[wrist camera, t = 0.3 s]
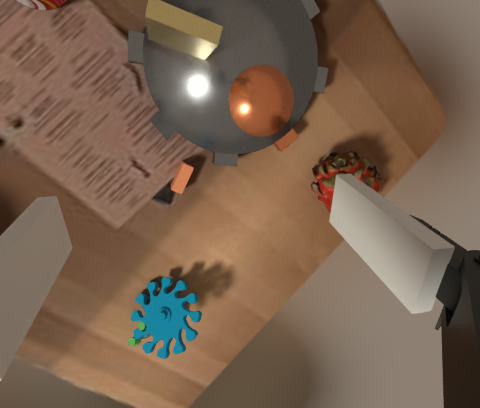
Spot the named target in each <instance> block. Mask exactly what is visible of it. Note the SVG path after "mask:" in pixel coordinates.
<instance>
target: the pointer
mask: <svg viewBox="0 0 480 408" xmlns="http://www.w3.org/2000/svg"><path fill="white" fill-rule="evenodd" d="M193 169H194V167H193V165H191V164H188V163H186V162H184V161H182V162H181V165H180V167H179V169H178V171H177V173H176V176H175V178H174V180H173V182H172V184H171V190H173V191H175V192H178V193H180V194H182V193H183V191H184V189H185V187H186V184H187V182H188V180H189V178H190V176H191V174H192V171H193Z"/></svg>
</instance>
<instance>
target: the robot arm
mask: <svg viewBox="0 0 480 408" xmlns="http://www.w3.org/2000/svg"><path fill="white" fill-rule="evenodd" d="M329 222H330V223H331V224H332V225H333V227H334V228H335V229H336V230H337V231H338V232H339V233H340V234H341V235H342V237H343V238H344V239H345V240H346V241H347V242H348V243H349V244H350V245H351V247H352V248H353V249H354V250H355V251H356V252H357V253H358V254H359V255H360V257H361V258H362V259H363V260H364V261H365V262H366V263H367V264H368V265H369V267H370V268H371V269H372V270H373V271H374V272H375V273H376V274H377V275H378V277H379V278H380V279H381V280H382V281H383V282H384V283H385V284H386V285H387V287H388V288H389V289H390V290H391V291H392V292H393V293H394V294H395V296H396V297H397V298H398V299H399V300H400V301H401V302H402V303H403V304H404V306H405V307H406V308H407V309H408V310H409V311H410V312H411V313H412V314H415V313H421V312H427V311H431V310H432V307H433V305H434V302H435V299H436V298H437V299H439V300H440V301H441V302H442V303H443V304H444V307H443V310H442V312H441V315H440V317H439V320H438V322H437V325H436V327H435V329H436V330H439V328H440V326H441V327H442V361H443V397H444V408H480V251H479V250H470V251H467V250H466V249H464V248H463V247H461V246H460V245H458V244H457V243H455V242H454V241H452V240H451V239H450V238H448V237H447V236H445V235H443V234H441V233H440V232H439V231H438V230H436V229H435V228H432V226H430V225H429V224H428V223H426V222H425V221H423V220H421V219H419V218H416V217H414V216H412V215H409V214H407V213H406V212H404V211H403V210H401V209H400V208H398V207H397V206H396V205H394V204H393V203H391V202H390V201H389V200H387V199H386V198H384V197H383V196H381V195H380V194H379V193H377V192H376V191H374V190H373V189H371V188H370V187H369V186H367V185H366V184H364V183H363V182H361V181H360V180H359V179H357V178H356V177H354V176H353V175H351V174H339V175H336V180H335V187H334V193H333V200H332V207H331V214H330V221H329ZM71 250H72V245H71V242H70V238H69V235H68V232H67V229H66V225H65V222H64V219H63V215H62V212H61V209H60V206H59V202H58V199H57V196H51V197H37V198H36V200H35V201H34V202H33V203H32V204H31V205H30V206H29V207H28V208H27V209H26V210H25V211H24V212H23V213H22V214H21V215H20V216H19V217H18V218H17V219H16V220H15V221H14V222H13V223H12V224H11V225H10V226H9V227H8V228H7V229H6V230H5V231H4V233H3V234H2V235H1V236H0V381H1V380H2V379H3V377H4V375H5V373H6V371H7V369H8V367H9V366H10V364H11V362H12V360H13V358H14V356H15V354H16V353H17V351H18V349H19V347H20V345H21V343H22V341H23V340H24V338H25V336H26V334H27V332H28V330H29V328H30V326H31V325H32V323H33V321H34V319H35V317H36V315H37V313H38V312H39V310H40V308H41V306H42V304H43V302H44V300H45V299H46V297H47V295H48V293H49V291H50V289H51V287H52V286H53V284H54V282H55V280H56V278H57V276H58V274H59V273H60V271H61V269H62V267H63V265H64V263H65V261H66V260H67V258H68V256H69V254H70V252H71Z"/></svg>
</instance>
